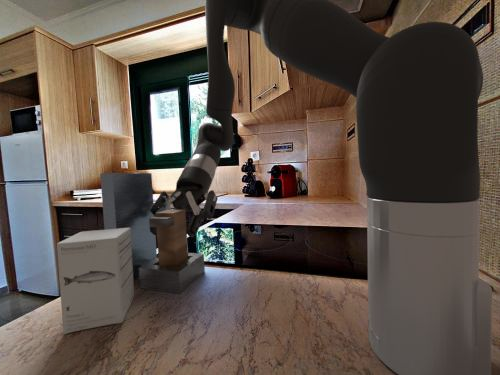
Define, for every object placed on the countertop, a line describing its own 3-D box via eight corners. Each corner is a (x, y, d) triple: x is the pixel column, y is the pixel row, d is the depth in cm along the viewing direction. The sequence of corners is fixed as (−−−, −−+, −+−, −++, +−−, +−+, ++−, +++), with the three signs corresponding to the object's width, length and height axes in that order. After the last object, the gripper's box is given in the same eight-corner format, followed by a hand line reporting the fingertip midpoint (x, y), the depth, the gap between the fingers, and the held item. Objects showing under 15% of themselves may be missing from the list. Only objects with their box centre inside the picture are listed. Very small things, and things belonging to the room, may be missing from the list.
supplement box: (61, 336, 28) (52, 243, 28) (87, 305, 36) (81, 230, 35) (123, 324, 30) (116, 237, 30) (136, 296, 37) (131, 225, 37)
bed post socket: (206, 270, 47) (200, 170, 46) (178, 295, 37) (170, 169, 36) (147, 264, 51) (141, 173, 50) (108, 285, 42) (100, 173, 41)
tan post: (189, 275, 45) (185, 209, 44) (171, 290, 39) (166, 214, 38) (173, 274, 46) (169, 209, 45) (153, 287, 40) (148, 214, 40)
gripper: (166, 166, 52) (130, 223, 42) (218, 163, 48) (194, 224, 38) (180, 187, 58) (152, 241, 47) (228, 185, 54) (210, 244, 43)
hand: (171, 234), depth 43 cm, fingers open, 8 cm apart
